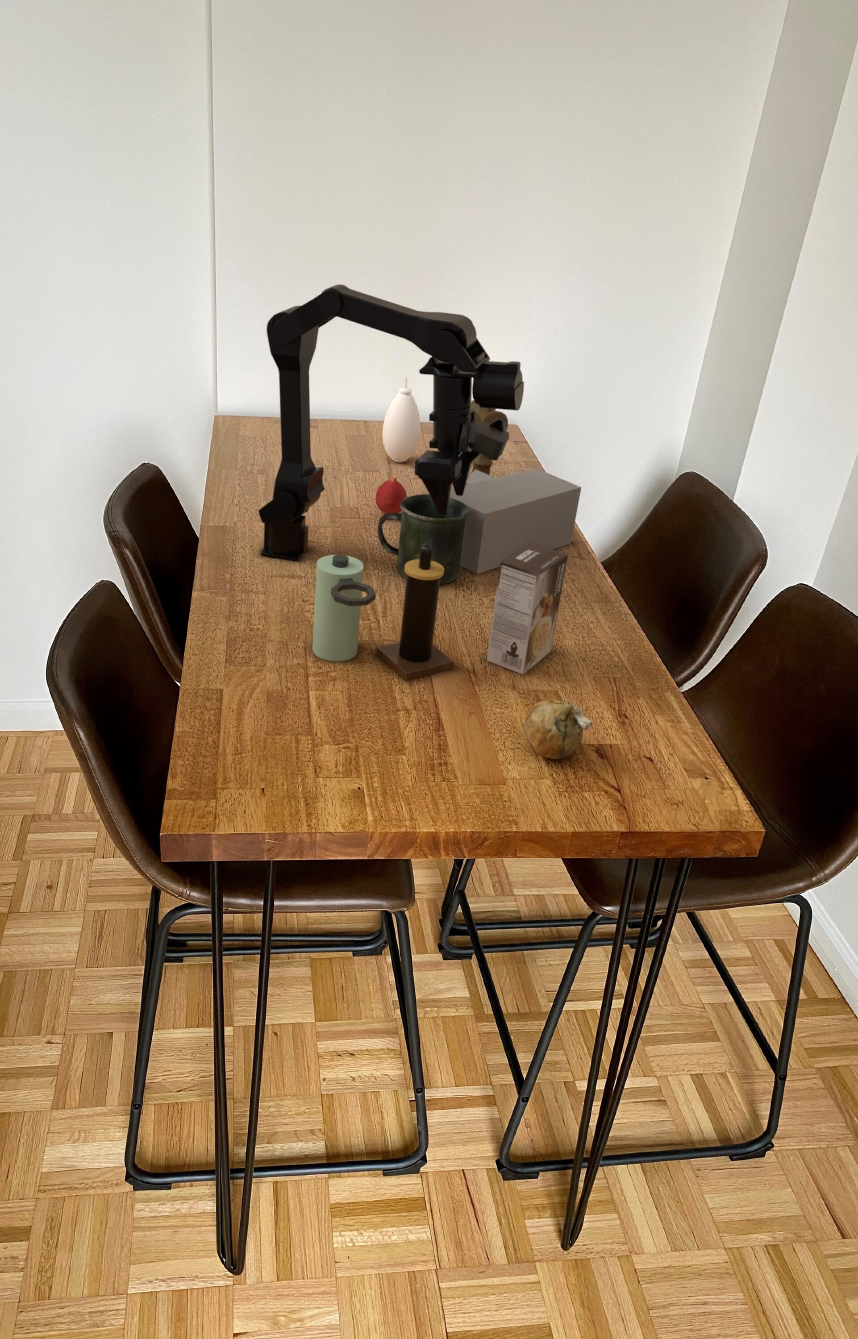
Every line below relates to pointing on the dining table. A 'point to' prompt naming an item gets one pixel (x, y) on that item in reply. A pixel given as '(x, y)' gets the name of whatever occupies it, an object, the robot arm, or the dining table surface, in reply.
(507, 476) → the plain grey rectangular block
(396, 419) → the sauce bottle
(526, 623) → the coffee box
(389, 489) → the onion
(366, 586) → the mint green lidded canister
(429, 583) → the black cylinder with base
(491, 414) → the kendama
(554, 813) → the dining table surface
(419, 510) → the mug
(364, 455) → the dining table surface
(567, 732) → the onion
